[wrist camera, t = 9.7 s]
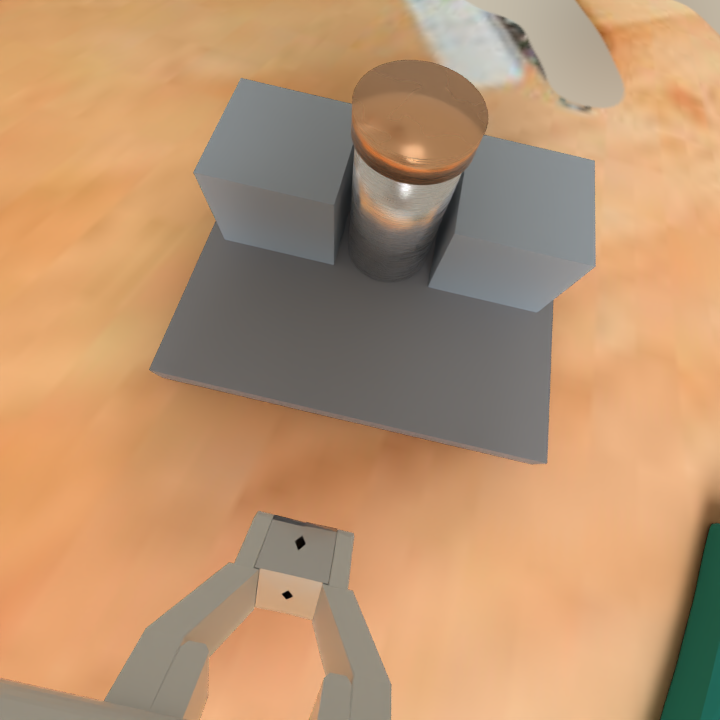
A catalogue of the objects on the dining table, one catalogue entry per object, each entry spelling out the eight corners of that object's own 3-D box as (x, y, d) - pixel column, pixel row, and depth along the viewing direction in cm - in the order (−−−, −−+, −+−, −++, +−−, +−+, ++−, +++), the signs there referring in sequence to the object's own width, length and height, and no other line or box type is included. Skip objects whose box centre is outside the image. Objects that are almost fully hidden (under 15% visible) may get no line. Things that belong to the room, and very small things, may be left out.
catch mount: (162, 377, 20) (84, 334, 14) (255, 162, 25) (229, 62, 19) (531, 464, 20) (621, 460, 14) (543, 230, 25) (611, 151, 19)
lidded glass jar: (336, 273, 21) (337, 139, 12) (355, 205, 23) (368, 47, 14) (422, 293, 21) (481, 173, 12) (434, 223, 23) (494, 77, 14)
